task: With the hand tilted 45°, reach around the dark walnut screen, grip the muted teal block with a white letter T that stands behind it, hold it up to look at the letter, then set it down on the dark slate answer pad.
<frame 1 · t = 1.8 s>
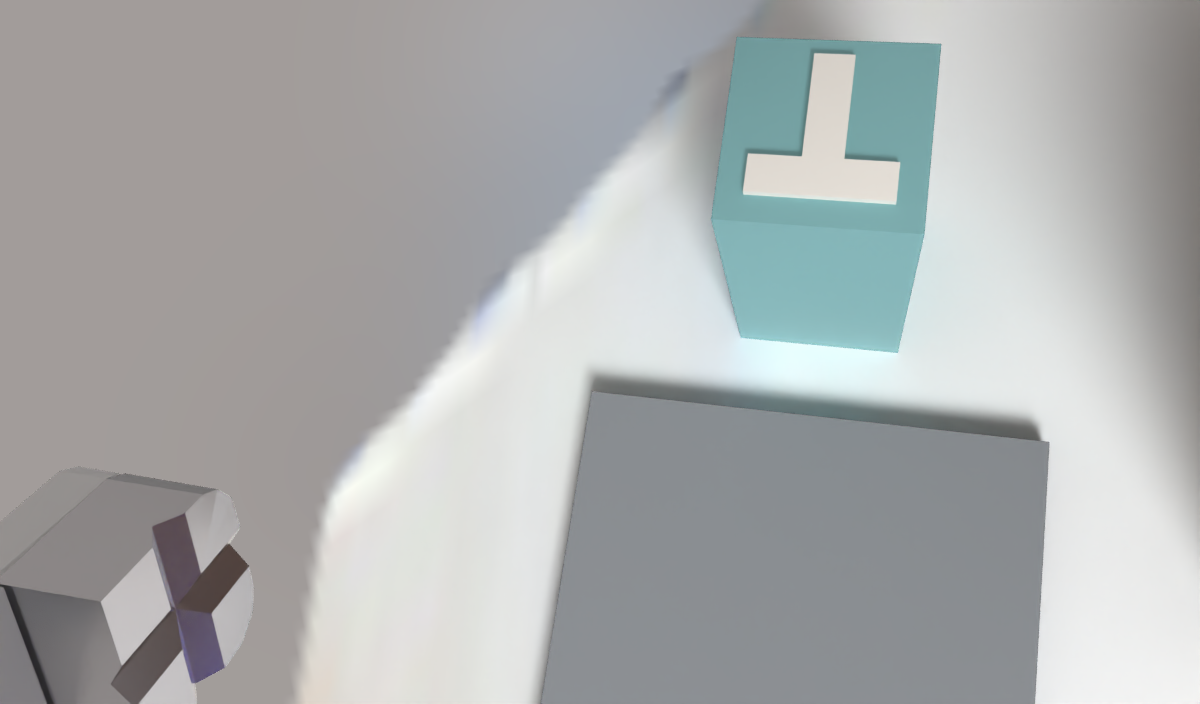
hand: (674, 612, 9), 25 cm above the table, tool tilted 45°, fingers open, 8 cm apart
lettered block: (826, 272, 36), on the table
answer pad: (785, 646, 33), on the table
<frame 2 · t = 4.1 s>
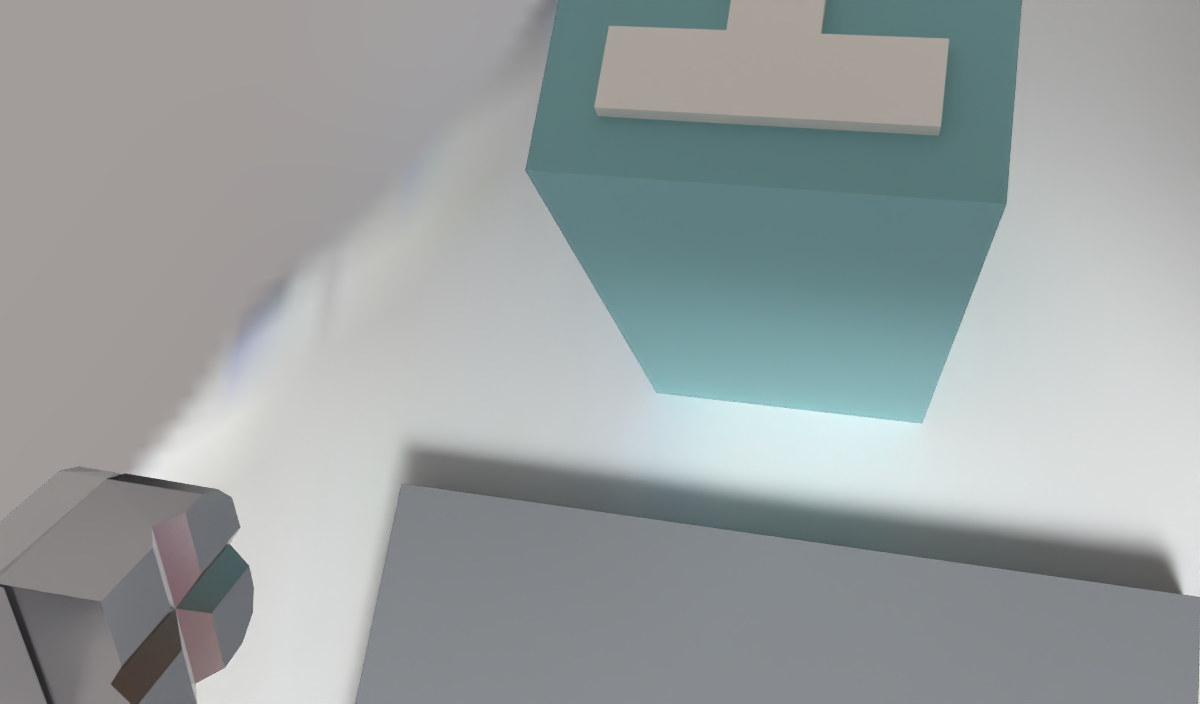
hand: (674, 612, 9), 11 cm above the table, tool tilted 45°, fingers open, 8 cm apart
lettered block: (800, 283, 21), on the table
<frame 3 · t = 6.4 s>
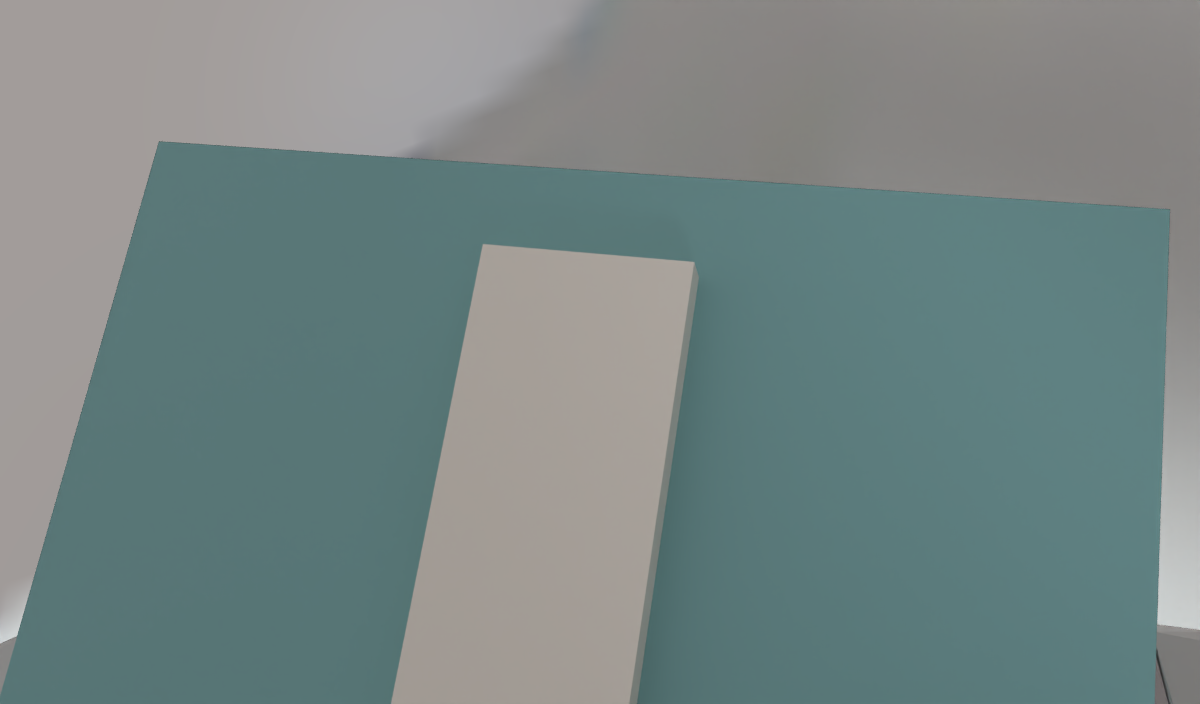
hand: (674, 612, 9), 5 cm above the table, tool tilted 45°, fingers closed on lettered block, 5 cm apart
lettered block: (720, 686, 14), on the table, touching gripper
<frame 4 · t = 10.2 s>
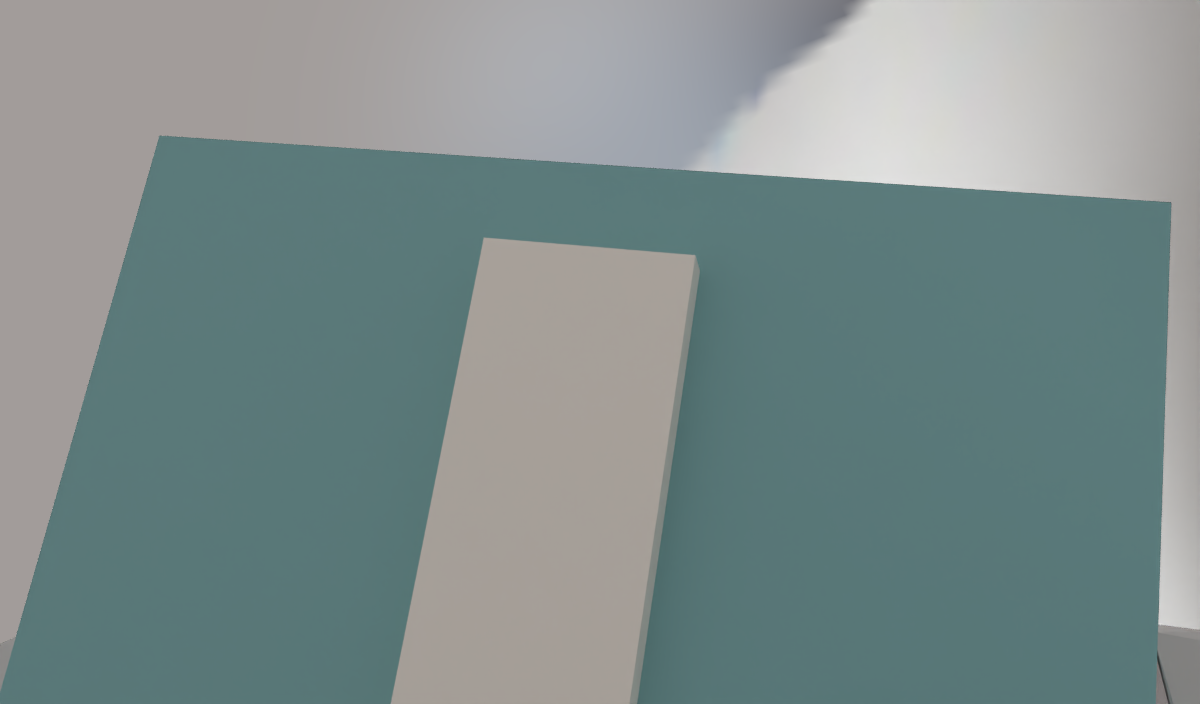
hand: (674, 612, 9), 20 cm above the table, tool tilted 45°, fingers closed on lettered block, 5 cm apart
lettered block: (720, 684, 14), point 14 cm above the table, touching gripper
when the fingers open (8 cm above the table, at t = 14.1 s): lettered block drops 1 cm, resting on answer pad.
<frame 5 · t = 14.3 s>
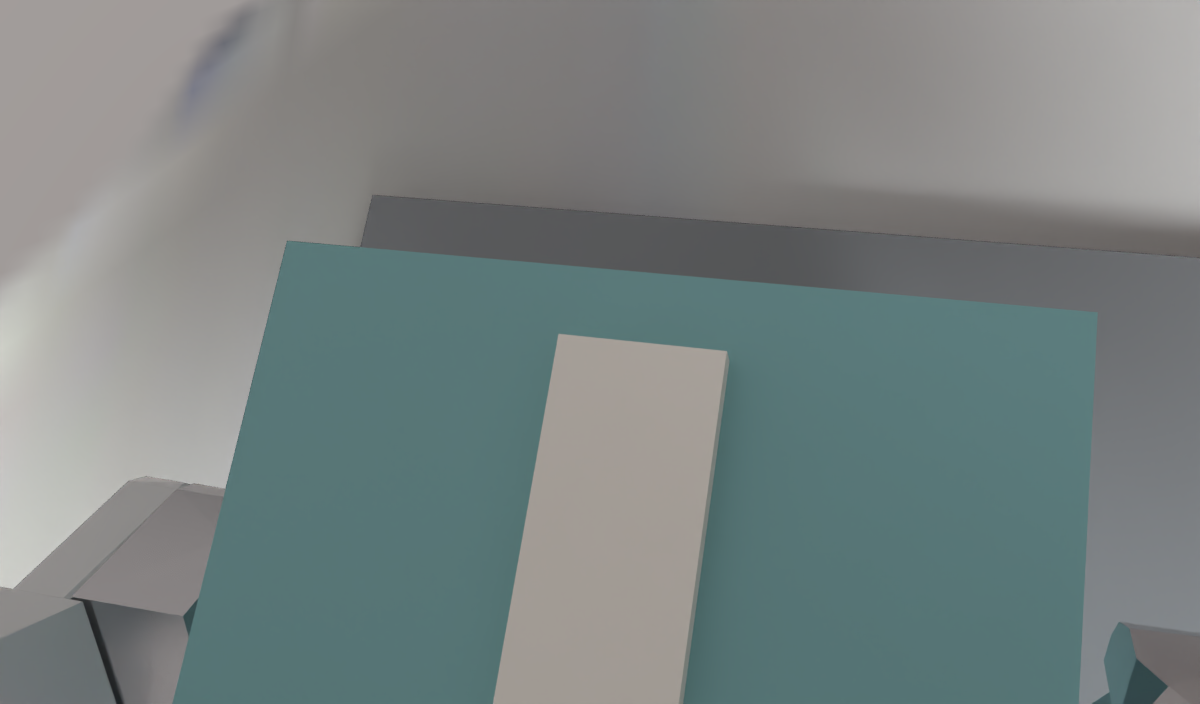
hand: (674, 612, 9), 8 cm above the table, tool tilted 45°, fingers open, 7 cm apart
lettered block: (730, 685, 15), point 1 cm above the table, touching answer pad
answer pad: (730, 685, 16), on the table
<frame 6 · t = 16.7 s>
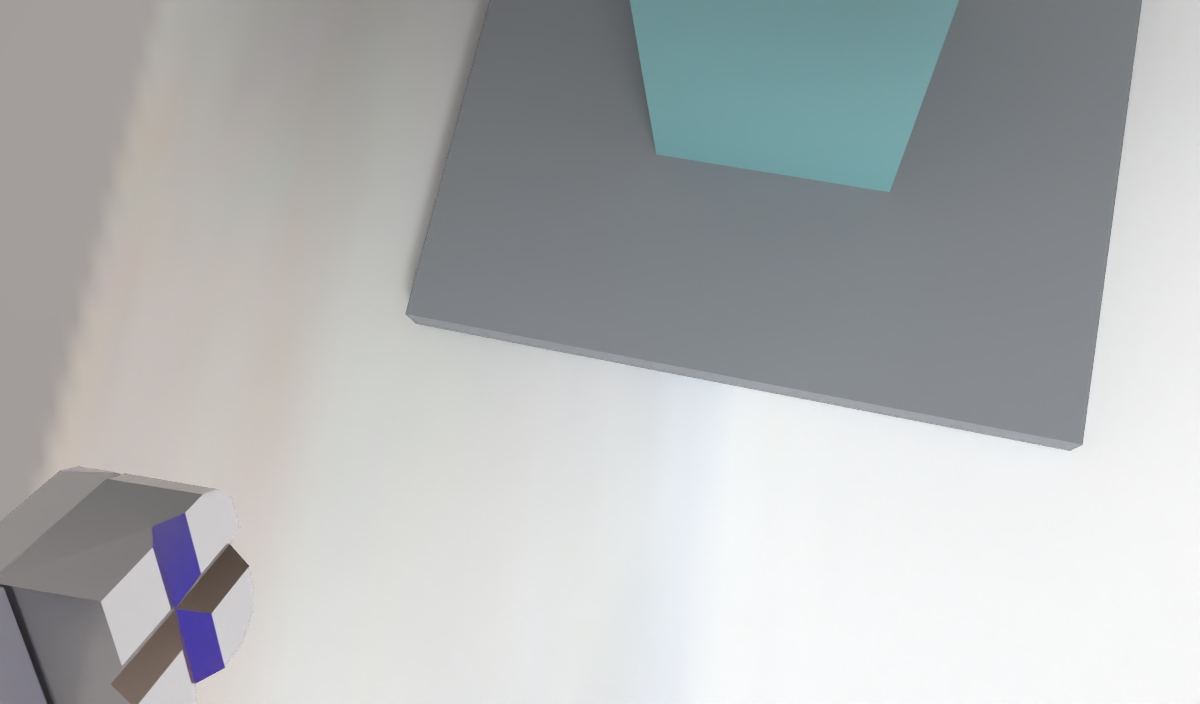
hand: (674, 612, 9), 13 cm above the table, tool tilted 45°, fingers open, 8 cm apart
lettered block: (792, 67, 24), point 1 cm above the table, touching answer pad
answer pad: (787, 84, 25), on the table
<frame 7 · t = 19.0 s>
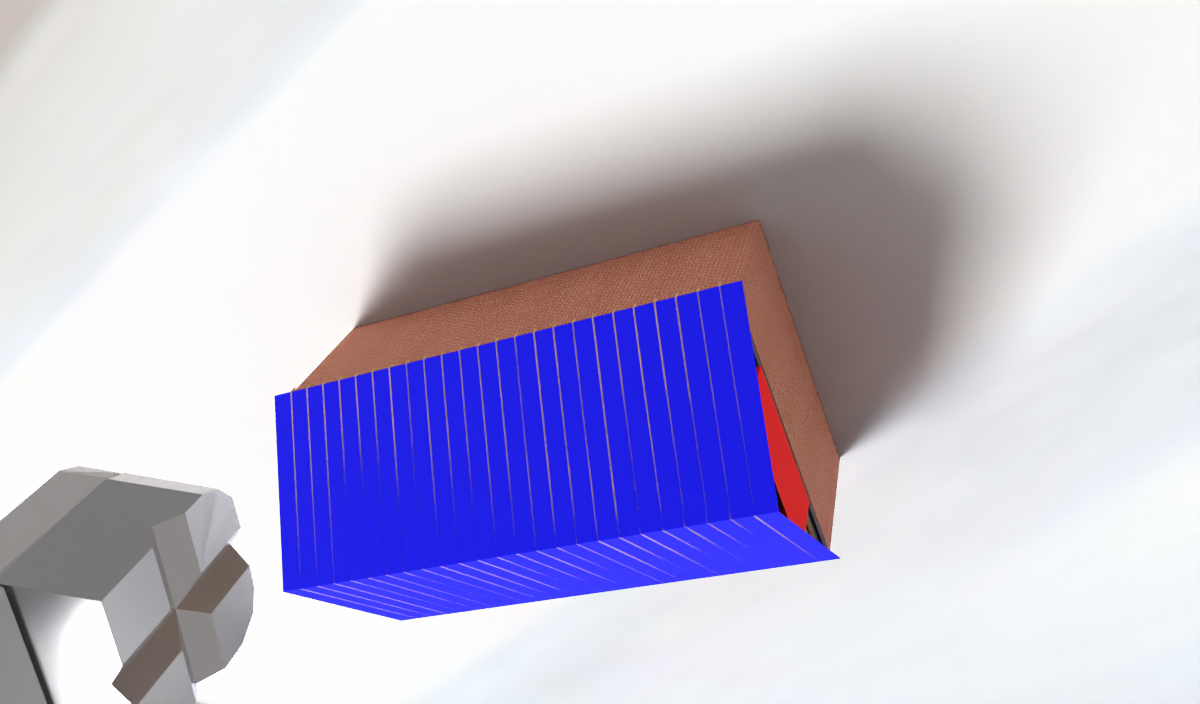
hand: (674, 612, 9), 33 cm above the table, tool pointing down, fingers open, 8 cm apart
house: (591, 386, 49), on the table
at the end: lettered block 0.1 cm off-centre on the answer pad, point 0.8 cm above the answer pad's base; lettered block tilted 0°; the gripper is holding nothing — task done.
